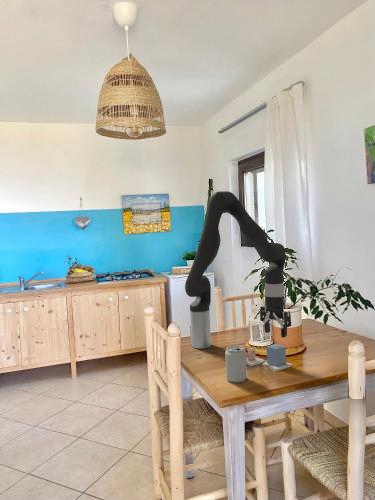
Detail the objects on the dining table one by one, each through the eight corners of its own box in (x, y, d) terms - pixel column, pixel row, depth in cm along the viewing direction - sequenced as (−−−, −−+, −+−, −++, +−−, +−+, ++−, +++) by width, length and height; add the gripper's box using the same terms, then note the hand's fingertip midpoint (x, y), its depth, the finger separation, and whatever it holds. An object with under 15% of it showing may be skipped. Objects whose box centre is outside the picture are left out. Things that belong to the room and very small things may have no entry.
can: (248, 382, 141) (247, 350, 140) (228, 384, 141) (226, 351, 140) (244, 374, 149) (242, 343, 148) (224, 376, 148) (223, 345, 147)
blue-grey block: (267, 363, 157) (266, 346, 156) (276, 360, 160) (275, 343, 159) (277, 366, 152) (276, 349, 152) (286, 363, 155) (285, 346, 155)
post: (262, 365, 157) (261, 348, 157) (276, 360, 162) (275, 344, 161) (277, 371, 150) (276, 353, 150) (291, 366, 155) (290, 348, 154)
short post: (239, 361, 163) (239, 350, 163) (252, 357, 167) (251, 346, 166) (251, 366, 157) (251, 354, 157) (264, 361, 161) (263, 350, 161)
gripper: (254, 293, 158) (255, 332, 159) (281, 298, 146) (282, 340, 147) (267, 290, 162) (269, 329, 163) (295, 295, 150) (296, 336, 151)
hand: (275, 334), depth 155 cm, fingers open, 8 cm apart
